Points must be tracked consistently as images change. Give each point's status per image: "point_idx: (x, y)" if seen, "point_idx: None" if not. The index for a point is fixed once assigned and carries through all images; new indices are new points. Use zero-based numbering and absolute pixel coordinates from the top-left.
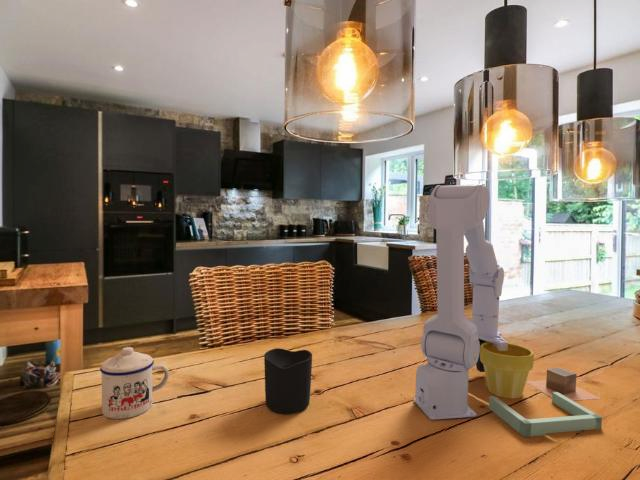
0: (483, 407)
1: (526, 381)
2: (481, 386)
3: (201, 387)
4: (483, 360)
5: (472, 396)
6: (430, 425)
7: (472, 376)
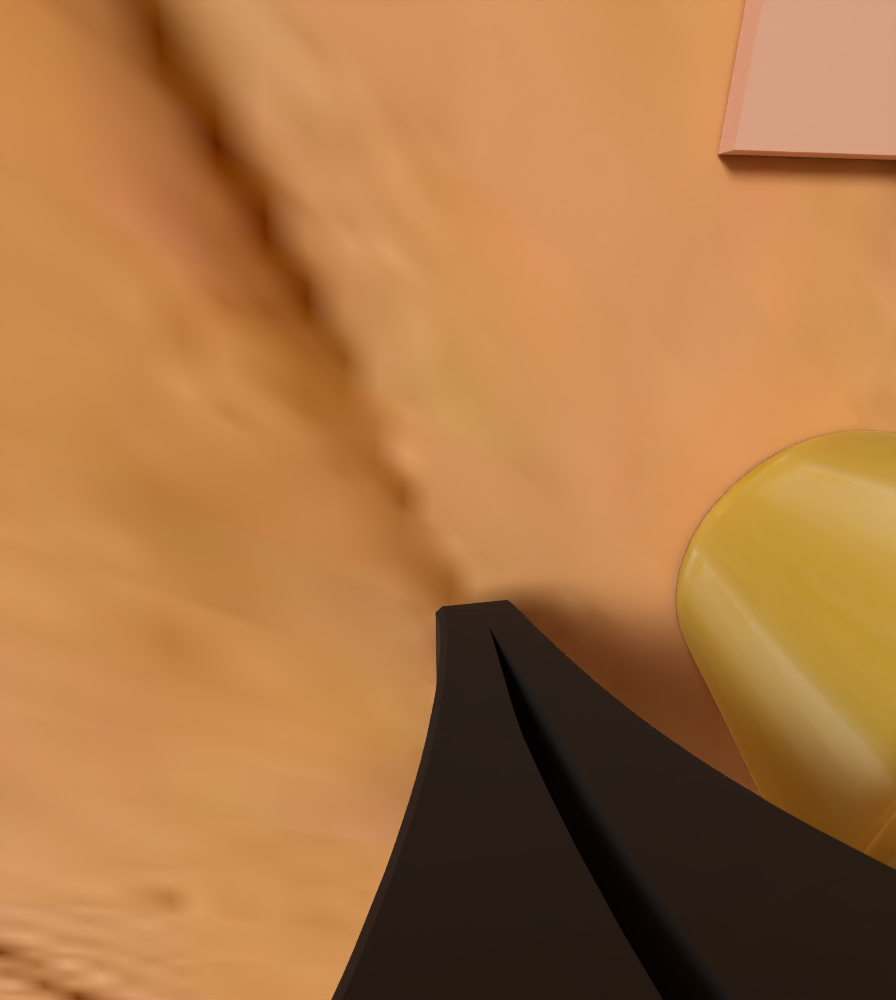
0: None
1: (750, 124)
2: (635, 683)
3: None
4: None
5: None
6: None
7: (419, 674)
